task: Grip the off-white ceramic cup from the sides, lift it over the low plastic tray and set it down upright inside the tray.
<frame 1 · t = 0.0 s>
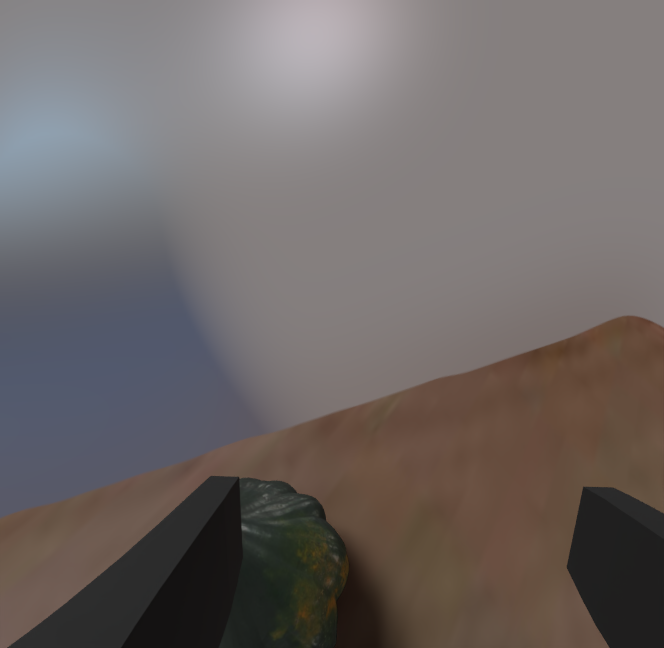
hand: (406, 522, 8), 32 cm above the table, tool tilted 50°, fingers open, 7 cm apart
squash: (262, 578, 34), on the table
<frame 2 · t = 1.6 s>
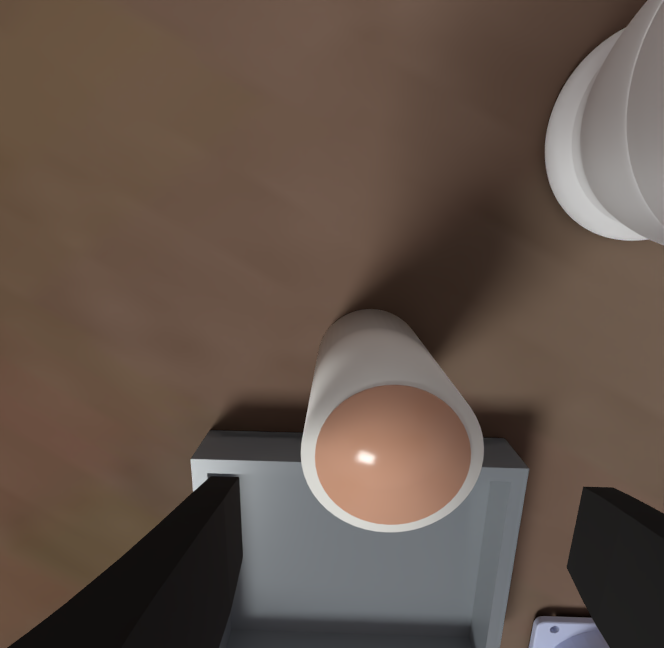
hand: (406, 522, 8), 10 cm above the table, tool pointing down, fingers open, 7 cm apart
tray: (352, 540, 20), on the table
cup: (369, 359, 18), on the table
jar: (640, 138, 16), on the table
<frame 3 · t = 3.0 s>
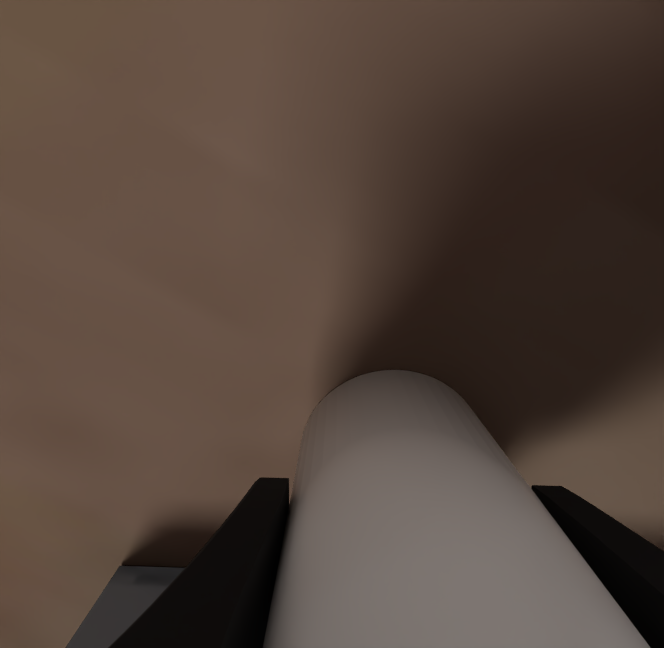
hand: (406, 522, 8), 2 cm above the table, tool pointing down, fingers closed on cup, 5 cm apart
cup: (391, 455, 10), on the table, touching gripper
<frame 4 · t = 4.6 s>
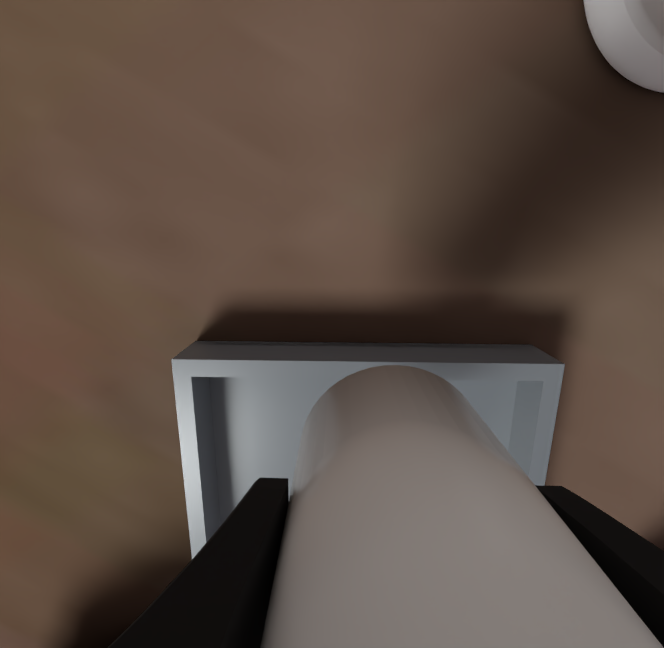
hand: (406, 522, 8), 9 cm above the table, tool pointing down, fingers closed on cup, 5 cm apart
tray: (358, 469, 18), on the table
cup: (390, 450, 10), point 7 cm above the table, touching gripper
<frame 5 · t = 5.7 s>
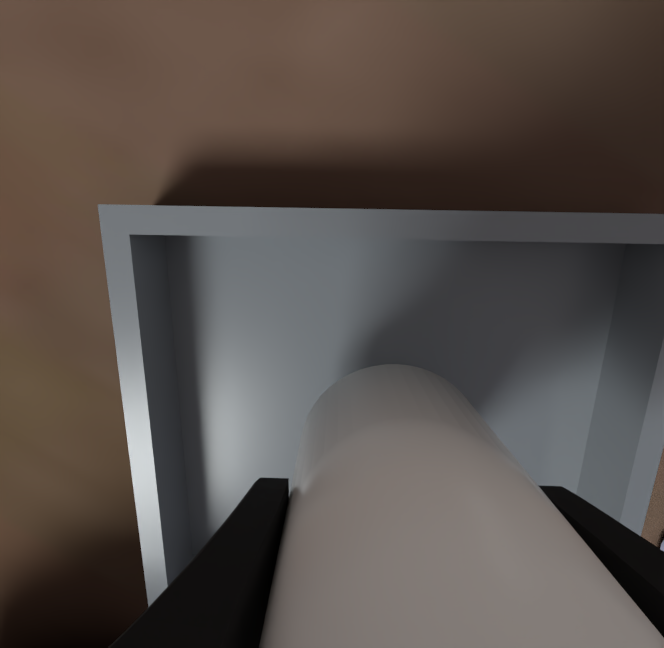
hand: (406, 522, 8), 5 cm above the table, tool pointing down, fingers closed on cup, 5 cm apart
tray: (381, 409, 13), on the table
cup: (390, 450, 10), point 3 cm above the table, touching gripper
when the fingers open (4 cm above the table, at t = 6.4 s): cup drops 1 cm, resting on tray.
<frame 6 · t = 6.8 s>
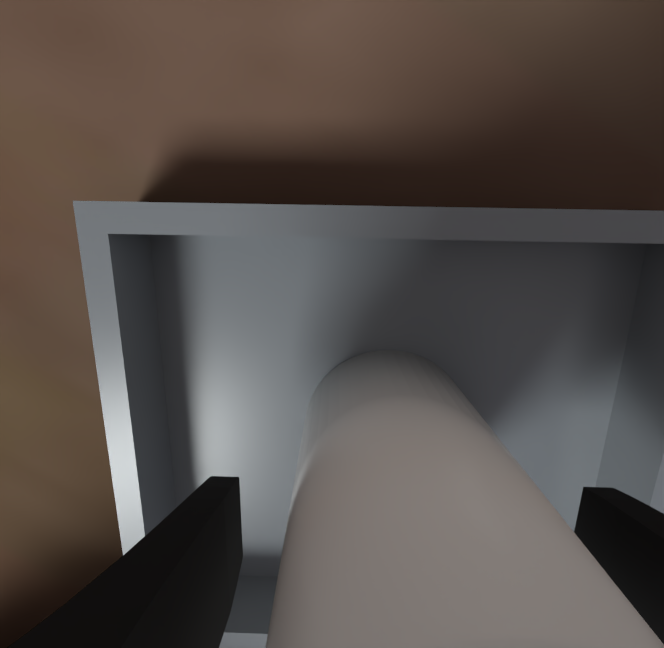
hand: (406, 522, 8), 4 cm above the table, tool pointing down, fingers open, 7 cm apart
tray: (382, 420, 12), on the table
cup: (385, 427, 11), point 1 cm above the table, touching tray
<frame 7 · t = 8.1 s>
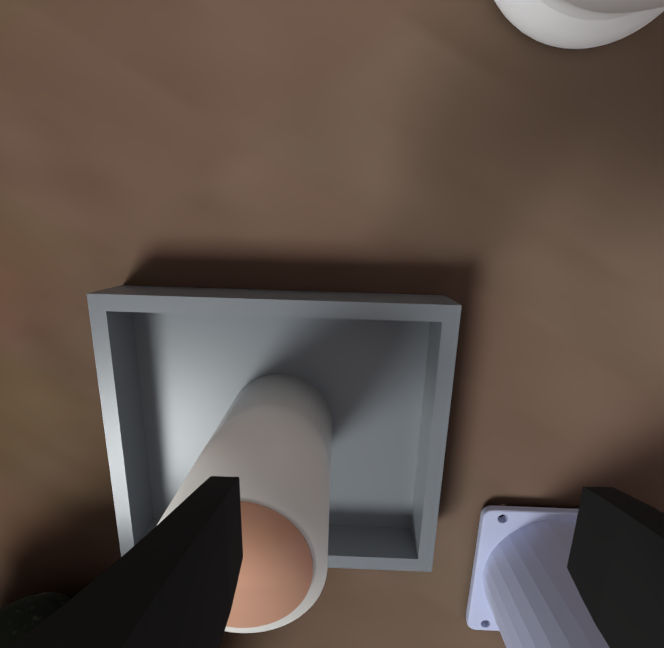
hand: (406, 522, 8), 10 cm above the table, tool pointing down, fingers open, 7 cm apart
tray: (282, 417, 19), on the table
cup: (281, 421, 18), point 1 cm above the table, touching tray
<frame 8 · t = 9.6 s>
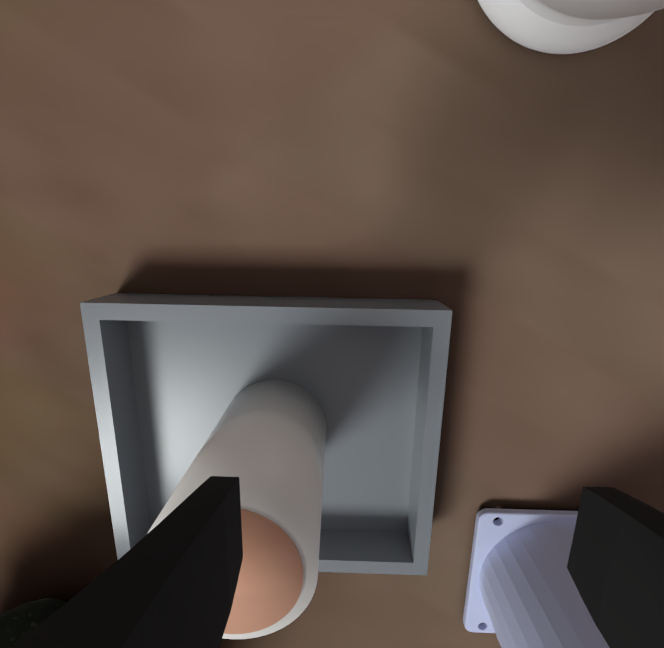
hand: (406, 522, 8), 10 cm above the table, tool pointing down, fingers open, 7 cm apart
tray: (277, 422, 19), on the table
cup: (275, 427, 18), point 1 cm above the table, touching tray
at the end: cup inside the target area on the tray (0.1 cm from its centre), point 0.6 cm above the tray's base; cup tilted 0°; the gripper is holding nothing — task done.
